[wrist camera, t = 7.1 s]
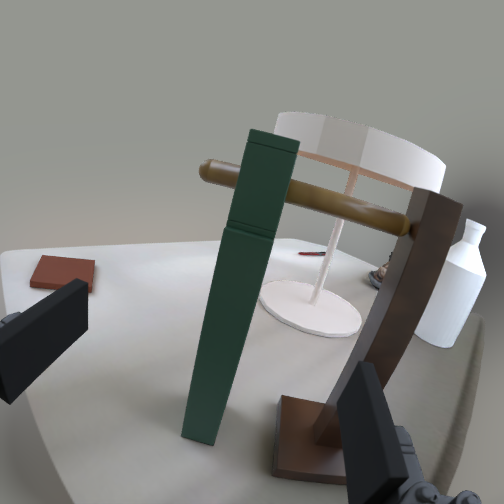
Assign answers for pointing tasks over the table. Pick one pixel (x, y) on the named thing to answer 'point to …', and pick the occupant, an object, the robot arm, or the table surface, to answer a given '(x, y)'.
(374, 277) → the bison figurine
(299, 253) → the pen
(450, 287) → the bottle
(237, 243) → the green block with loop
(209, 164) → the hook stand
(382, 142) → the white stemmed bowl
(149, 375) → the table surface
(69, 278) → the cork pad
